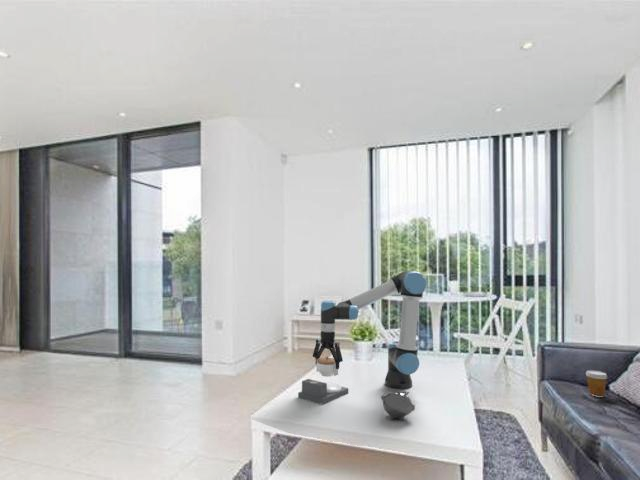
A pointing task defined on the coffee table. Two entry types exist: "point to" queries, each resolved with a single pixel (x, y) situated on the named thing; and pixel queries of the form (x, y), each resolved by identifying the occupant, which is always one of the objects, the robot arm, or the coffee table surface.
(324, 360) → the lidded jar
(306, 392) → the scale
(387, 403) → the piggy bank
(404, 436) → the coffee table surface
